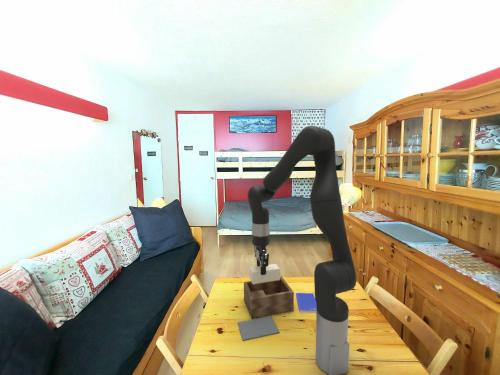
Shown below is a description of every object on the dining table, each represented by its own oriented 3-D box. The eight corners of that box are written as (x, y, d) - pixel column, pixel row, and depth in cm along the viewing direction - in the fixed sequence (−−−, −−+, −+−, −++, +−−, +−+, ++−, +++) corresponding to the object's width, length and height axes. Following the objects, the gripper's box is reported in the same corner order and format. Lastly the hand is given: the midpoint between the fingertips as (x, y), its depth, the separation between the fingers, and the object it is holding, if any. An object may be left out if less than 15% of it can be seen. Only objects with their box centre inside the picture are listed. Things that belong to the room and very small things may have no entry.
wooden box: (251, 319, 92) (251, 299, 91) (244, 299, 105) (243, 282, 104) (293, 311, 97) (293, 292, 95) (281, 293, 109) (281, 276, 108)
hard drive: (319, 310, 95) (313, 293, 107) (299, 309, 96) (295, 292, 108) (319, 314, 95) (313, 296, 108) (299, 313, 96) (295, 295, 108)
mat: (279, 333, 85) (279, 331, 85) (242, 341, 81) (242, 339, 81) (271, 316, 93) (271, 315, 93) (237, 323, 90) (237, 322, 90)
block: (252, 284, 95) (252, 272, 94) (249, 278, 99) (249, 267, 99) (279, 279, 98) (279, 268, 97) (275, 274, 102) (275, 263, 102)
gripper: (275, 237, 90) (275, 278, 92) (263, 227, 104) (264, 263, 106) (257, 239, 88) (257, 281, 90) (247, 228, 102) (248, 265, 104)
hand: (261, 271), depth 98 cm, fingers closed on block, 5 cm apart
